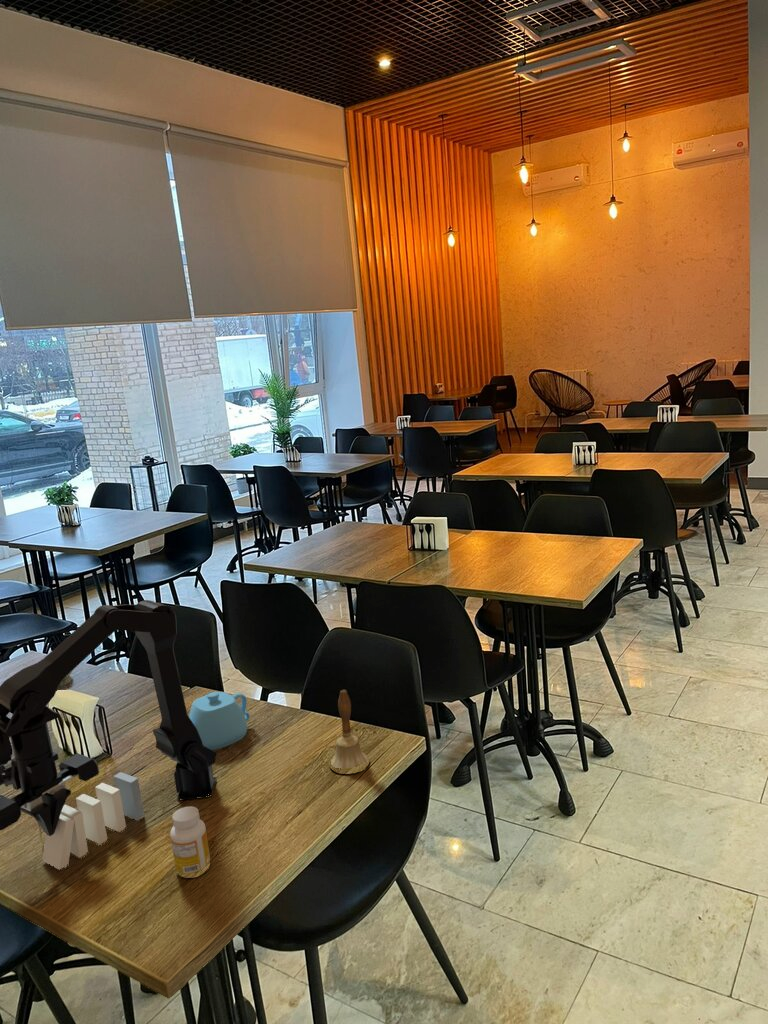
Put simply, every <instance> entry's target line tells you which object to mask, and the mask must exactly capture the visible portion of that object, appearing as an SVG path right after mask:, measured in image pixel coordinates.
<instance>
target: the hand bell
mask: <svg viewBox="0 0 768 1024" xmlns="http://www.w3.org/2000/svg"><path fill="white" fill-rule="evenodd" d="M337 707H338V713H339V717H340V718H341V725H342V726H341V728H342V730H341V732H342V733H341V735H342V736H340V737H338V738H337V740H336V745H335V754H334V756H333V757H332V758H333V759H332V758H331V760H330V761H331V765H332V766H333V767H335V768H339V769H340V768H341V769H348V768H353V767H357V766H360V765H361V764H363V763H364V762H366V760H367V756H368V755H367V754H365V753H364V752H363V751H362V749H361V745H360V741H359V738H358V736H356V735H353V734H352V730H351V721H350V718H351V714H352V713H351V712H352V701H351V699H350V696H349V694H348V691H347V690H346V689H342V690H340V691H339V697H338V700H337ZM366 755H367V756H366Z"/></svg>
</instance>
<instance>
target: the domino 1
mask: <svg viewBox="0 0 768 1024" xmlns="http://www.w3.org/2000/svg"><path fill="white" fill-rule="evenodd" d="M73 826H74V819H72V818H70V817H68V816H66V815H63V814H60V817H59V820H58V823H57V826H56V830H55V833H54V834H53V835H51V836H48V835H46V834H45V838H44V839H45V840H44V847H43V848H44V849H43V854H42V862H43V863H45V862H46V864H47V865H49V864H50V865H49V866H51V867H53V866H54V867H53V868H55V869H57V870H59V871H61V870H62V869H61V868H63V867H64V866H66V865H67V864H68V865H70V864H69V863H70V856H71V854H70V849H71V841H72V833H73ZM60 869H61V870H60Z"/></svg>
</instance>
